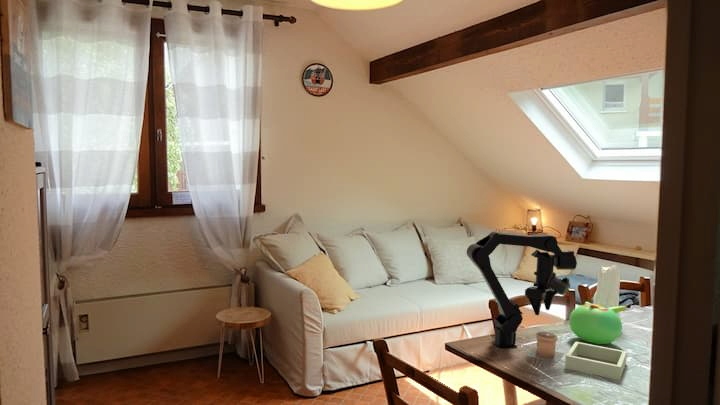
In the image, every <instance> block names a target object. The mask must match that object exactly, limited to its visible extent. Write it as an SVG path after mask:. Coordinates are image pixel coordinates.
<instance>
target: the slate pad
mask: <svg viewBox="0 0 720 405" xmlns="http://www.w3.org/2000/svg"><path fill="white" fill-rule="evenodd" d="M536 349H537V347H533V348H532V349H531V350H530V351H529V353H527V355H526V357H529V358H532V359H537V360H541V361H546V362H550V363H551V362H552V363H554V364H556V363H557V364H558V363H559V362H560V360H561V358H562V357H564V354H565V353H563V352H559V351H555V357H553V358H545V357H541V356H538V355H537V354H536Z"/></svg>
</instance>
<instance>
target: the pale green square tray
mask: <svg viewBox="0 0 720 405" xmlns="http://www.w3.org/2000/svg"><path fill="white" fill-rule="evenodd" d="M627 355H628V351H625V350H621V349H617V348H611V347H605V346H601V345H597V344H592V343H585V342H580V341H575V342H574V343H573V345H572V346H571V348H570V349H569V350H568V351H567V353H566V354H565V358H564V359H565V361H564V362H565V363H564V369H567V370H573V371H577V372H581V373H586V374H590V375H595V376H601V377H604V378H608V379H614V380H619V381H620V380H621V378H622V375H623V372H624V370H625V368H626V365H627V357H628V356H627Z"/></svg>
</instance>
